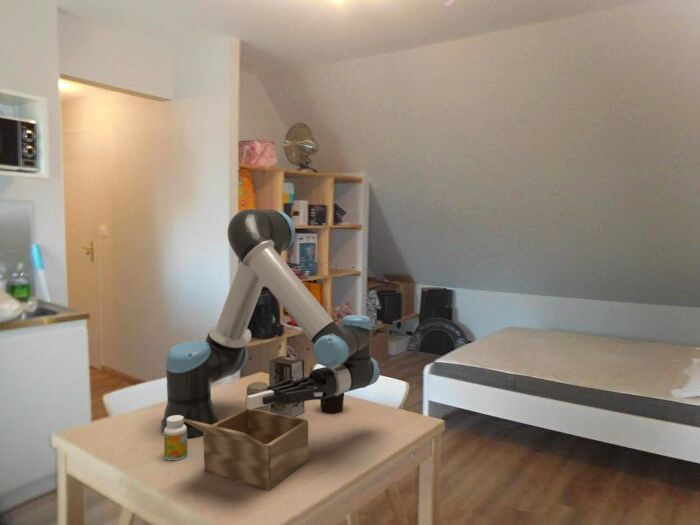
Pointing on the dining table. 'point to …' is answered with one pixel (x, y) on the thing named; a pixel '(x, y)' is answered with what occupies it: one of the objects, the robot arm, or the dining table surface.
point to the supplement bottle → (175, 438)
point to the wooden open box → (257, 448)
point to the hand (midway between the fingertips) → (248, 402)
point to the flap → (224, 432)
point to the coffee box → (282, 371)
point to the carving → (258, 388)
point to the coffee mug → (332, 404)
